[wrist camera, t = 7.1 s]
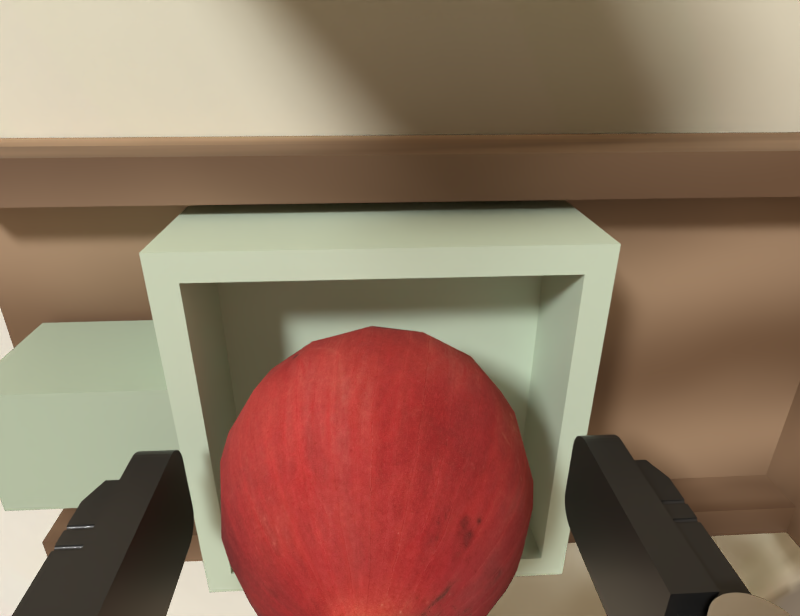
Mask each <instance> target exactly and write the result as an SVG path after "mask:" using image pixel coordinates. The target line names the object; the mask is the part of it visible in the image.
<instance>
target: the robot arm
mask: <svg viewBox="0 0 800 616" xmlns="http://www.w3.org/2000/svg"><path fill="white" fill-rule="evenodd" d="M565 511H566V517H567V521H568V524H569V527H570V530H571V532H572V534H573V537H574V539H575V541H576V544H577V546H578V548H579V551H580V553H581V555H582V558H583V560H584V562H585V565H586V567H587V570H588V572H589V574H590V577H591V579H592V581H593V584H594V586H595V588H596V591H597V593H598V595H599V598H600V600H601V602H602V605H603V607H604V609H605V612H606V614H607V616H791V615H790V614H789V613H788V612H786V611H785V610H783V609H782V608H780V607H779V606H777V605H775V604H774V603H772V602H770V601H767V600H765V599H763V598H760V597H757V596H755V595H752V594H751V593H750V592H749V591H748V589H747V588H746V586H745V585H744V584H743V582H742V581H741V579H740V578H739V576H738V575H737V574H736V572H735V571H734V569H733V568H732V566H731V565H730V564H729V562H728V561H727V559H726V558H725V556H724V555H723V554H722V552H721V551H720V549H719V548H718V546H717V545H716V544H715V542H714V541H713V539H712V538H711V537H710V535H709V534H708V532H707V531H706V529H705V528H704V527H703V525H702V524H701V522H698V521H697V517H696V515H695V514H694V512H693V511H692V509H691V508H690V507H689V505H688V504H685V502H684V498H683V497H682V495H681V494H680V492H679V491H678V490H677V488H676V487H675V485H674V484H673V482H672V481H671V480H670V478H669V477H668V476H666V475H665V474H664V473H662V472H661V471H660V470H659V469H657V468H656V467H655V466H653V465H652V464H651V463H650V462H648V461H647V460H634V459H633V457H632V456H631V454H630V453H629V451H628V450H627V448H626V447H625V445H624V443H623V442H622V440H621V439H620V438H619V437H618V436H617V435H614V434H612V435H585V436H577V437H576V438H575V440H574V443H573V449H572V455H571V461H570V467H569V473H568V478H567V484H566V490H565ZM193 527H194V511H193V505H192V500H191V496H190V491H189V486H188V481H187V476H186V471H185V467H184V462H183V457H182V455H181V453H180V451H179V450H159V451H138V452H136V453H135V454H134V455H133V456H132V458H131V460H130V462H129V463H128V465H127V467H126V469H125V471H124V472H123V474H122V476H121V478H120V480H105V481H104V482H103V483H102V484H101V485H100V486H98V487H97V488H96V489H95V490H94V491H93V492H92V493H90V494H89V495H88V496H87V497H86V498H85V499H84V500H82V501H81V503H80V504H79V506H78V508H77V509H76V511H75V513H74V514H73V516H72V518H71V519H70V521H69V523H68V524H67V529H66V530H64V531H63V532H62V534H61V536H60V537H59V539H58V541H57V542H56V544H55V548H54V551H51V552H50V554H49V555H48V557H47V559H46V560H45V562H44V564H43V565H42V567H41V569H40V570H39V572H38V574H37V575H36V577H35V579H34V580H33V582H32V583H31V585H30V587H29V588H28V590H27V592H26V593H25V595H24V597H23V598H22V600H21V602H20V603H19V605H18V606H17V608H16V610H15V611H14V613H13V615H12V616H166V614H167V611H168V608H169V605H170V603H171V600H172V597H173V594H174V591H175V588H176V585H177V582H178V579H179V576H180V573H181V570H182V567H183V564H184V561H185V558H186V555H187V553H188V550H189V547H190V543H191V540H192V535H193Z"/></svg>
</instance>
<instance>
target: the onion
mask: <svg viewBox="0 0 800 616" xmlns="http://www.w3.org/2000/svg"><path fill="white" fill-rule="evenodd" d="M220 485H221V539H222V542H223V545H224V548H225V551H226V554H227V557H228V560H229V563H230V565H231V567H232V569H233V571H234V573H235V575H236V577H237V579H238V581H239V583H240V585H241V587H242V589H243V590H244V592H245V594H246V596H247V598H248V600H249V602H250V604H251V606H252V607H253V609H254V610H255V612H256V613H257V615H258V616H486V615H487V614H488V613H489V612H490V610H491V609H492V608H493V606H494V605H495V604H496V603H497V601H498V600H499V599H500V597H501V596H502V595H503V594H504V592H505V591H506V589H507V588H508V586H509V584H510V582H511V581H512V579H513V577H514V575H515V574H516V572H517V569H518V566H519V562H520V559H521V556H522V553H523V549H524V545H525V540H526V536H527V532H528V527H529V523H530V518H531V514H532V509H533V478H532V474H531V471H530V467H529V463H528V459H527V456H526V452H525V448H524V445H523V441H522V437H521V434H520V430H519V426H518V423H517V419H516V415H515V412H514V410H513V409H512V407H511V406H510V404H509V403H508V401H507V400H506V398H505V397H504V395H503V394H502V392H501V391H500V390H499V388H498V387H497V386H496V385H495V384H494V383H493V381H492V380H491V379H490V378H489V377H488V376H487V374H486V373H485V372H484V371H483V370H482V369H481V367H480V366H479V365H478V364H477V363H476V362H475V360H474V359H473V358H472V357H471V356H470V355H468V354H466V353H464V352H462V351H460V350H458V349H456V348H454V347H452V346H450V345H448V344H446V343H444V342H442V341H440V340H438V339H436V338H434V337H432V336H430V335H428V334H426V333H424V332H418V331H411V330H402V329H394V328H386V327H378V326H369V327H365V328H362V329H358V330H354V331H351V332H347V333H343V334H340V335H336V336H332V337H328V338H324V339H320V340H316V341H312V342H311V343H309V344H308V345H306V346H305V347H303V348H302V349H300V350H299V351H297V352H296V353H294V354H293V355H291V356H290V357H288V358H287V359H285V360H284V361H282V362H281V363H279V364H278V365H276V366H275V367H273V368H272V369H271V370H270V371H269V372H268V373H267V375H266V376H265V377H264V378H263V379H262V381H261V382H260V383H259V384H258V385H257V387H256V388H255V389H254V390H253V392H252V394H251V395H250V397H249V399H248V400H247V402H246V404H245V405H244V407H243V409H242V411H241V412H240V414H239V416H238V417H237V419H236V421H235V422H234V424H233V426H232V427H231V429H230V431H229V432H228V436H227V439H226V443H225V446H224V450H223V453H222V457H221V460H220Z"/></svg>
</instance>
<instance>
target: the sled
mask: <svg viewBox="0 0 800 616" xmlns="http://www.w3.org/2000/svg"><path fill="white" fill-rule="evenodd" d="M620 246H621V244H620V243H619V242H618V241H616V240H615V239H614V238H613V237H611V236H610V235H609V234H607V233H606V232H605V231H604V230H602V229H601V228H600V227H599V226H597V225H596V224H595V223H594V222H592V221H591V220H590V219H588V218H587V217H586V216H585V215H583V214H582V213H581V212H580V211H578V210H577V209H576V208H574V207H573V206H572V205H571V204H569V203H568V202H567V201H566V200H548V201H478V202H407V203H337V204H266V205H196V206H188V207H187V208H186V209H185V210H184V211H183V212H181V213H180V214H179V215H178V216H177V217H176V218H175V219H174V220H173V221H172V222H171V223H170V224H169V225H168V226H167V227H166V228H165V229H164V230H163V231H162V232H161V233H159V234H158V235H157V236H156V237H155V238H154V239H153V240H152V241H151V242H150V243H149V244H148V245H147V246H146V247H145V248H144V249H143V250H142V251H141V252H140V253H139V255H140V260H141V265H142V270H143V275H144V279H145V284H146V289H147V294H148V299H149V303H150V308H151V313H152V318H153V320H138V321H99V322H59V323H42V324H41V325H40V326H39V327H37V328H36V329H35V330H34V331H33V332H32V333H31V334H30V335H28V336H27V337H26V338H25V339H24V340H23V341H22V342H20V343H19V344H18V345H17V346H16V347H15V348H14V349H13V350H11V351H10V352H9V353H8V354H7V355H6V356H5V357H4V358H2V359H1V360H0V500H1V502H2V505H3V507H4V510H5V511H17V510H40V509H63V508H78V506H79V504H80V503H81V501H82V500H84V499H85V498H86V497H87V496H88V495H89V494H90V493H92V492H93V491H94V490H95V489H96V488H97V487H98V486H100V485H101V484H102V483H103V482H104V481H105V480H120V478H121V476H122V474H123V472H124V471H125V469H126V467H127V465H128V463H129V462H130V460H131V458H132V456H133V455H134V454H135V453H136V452H138V451H159V450H179V451H180V453H181V455H182V457H183V462H184V467H185V471H186V476H187V481H188V486H189V491H190V496H191V500H192V505H193V511H194V520H195V525H196V530H197V534H198V539H199V544H200V549H201V554H202V558H203V563H204V568H205V573H206V578H207V582H208V587H209V592H226V591H244V590H243V589H242V587H241V585H240V583H239V581H238V579H237V577H236V575H235V573H234V571H233V569H232V567H231V565H230V563H229V560H228V557H227V554H226V551H225V548H224V545H223V542H222V539H221V485H220V460H221V457H222V453H223V450H224V446H225V443H226V439H227V436H228V432H229V431H230V429H231V427H232V426H233V424H234V422H235V421H236V419H237V417H238V416H239V414H240V412H241V411H242V409H243V407H244V405H245V404H246V402H247V400H248V399H249V397H250V395H251V394H252V392H253V390H254V389H255V388H256V387H257V385H258V384H259V383H260V382H261V381H262V379H263V378H264V377H265V376H266V375H267V373H268V372H269V371H270V370H271V369H272V368H273V367H275V366H276V365H278V364H279V363H281V362H282V361H284V360H285V359H287V358H288V357H290V356H291V355H293V354H294V353H296V352H297V351H299V350H300V349H302V348H303V347H305V346H306V345H308V344H309V343H311V342H312V341H316V340H320V339H324V338H328V337H332V336H336V335H340V334H343V333H347V332H351V331H354V330H358V329H362V328H365V327H369V326H378V327H386V328H394V329H402V330H411V331H418V332H424V333H426V334H428V335H430V336H432V337H434V338H436V339H438V340H440V341H442V342H444V343H446V344H448V345H450V346H452V347H454V348H456V349H458V350H460V351H462V352H464V353H466V354H468V355H470V356H471V357H472V358H473V359H474V360H475V362H476V363H477V364H478V365H479V366H480V367H481V369H482V370H483V371H484V372H485V373H486V374H487V376H488V377H489V378H490V379H491V380H492V381H493V383H494V384H495V385H496V386H497V387H498V388H499V390H500V391H501V392H502V394H503V395H504V397H505V398H506V400H507V401H508V403H509V404H510V406H511V407H512V409H513V410H514V412H515V415H516V419H517V423H518V426H519V430H520V434H521V437H522V441H523V445H524V448H525V452H526V456H527V459H528V463H529V467H530V471H531V474H532V478H533V509H532V514H531V518H530V523H529V527H528V532H527V536H526V540H525V545H524V549H523V553H522V556H521V559H520V562H519V566H518V569H517V572H516V574H515V575H514V577H515V576H535V575H554V574H562V572H563V566H564V561H565V555H566V549H567V544H568V538H569V533H570V527H569V524H568V521H567V517H566V511H565V490H566V484H567V478H568V473H569V467H570V461H571V455H572V449H573V443H574V440H575V438H576V437H577V436H585V435H587V431H588V426H589V420H590V415H591V409H592V403H593V398H594V392H595V386H596V381H597V375H598V370H599V364H600V358H601V353H602V347H603V342H604V336H605V330H606V325H607V319H608V313H609V308H610V302H611V297H612V291H613V285H614V280H615V274H616V268H617V263H618V257H619V252H620Z"/></svg>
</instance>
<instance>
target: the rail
mask: <svg viewBox="0 0 800 616" xmlns="http://www.w3.org/2000/svg"><path fill="white" fill-rule="evenodd" d="M548 200H566V201H567V202H568V203H569V204H571V205H572V206H573V207H574V208H576V209H577V210H578V211H580V212H581V213H582V214H583V215H585V216H586V217H587V218H588V219H590V220H591V221H592V222H594V223H595V224H596V225H597V226H599V227H600V228H601V229H602V230H604V231H605V232H606V233H607V234H609V235H610V236H611V237H613V238H614V239H615V240H616V241H618V242H619V243H620V244H621V246H620V252H619V257H618V263H617V268H616V274H615V280H614V285H613V291H612V297H611V302H610V308H609V313H608V319H607V325H606V330H605V336H604V342H603V347H602V353H601V358H600V364H599V370H598V375H597V381H596V386H595V392H594V398H593V403H592V409H591V415H590V420H589V426H588V431H587V435H612V434H614V435H617V436H618V437H619V438H620V439H621V440H622V442H623V443H624V445H625V447H626V448H627V450H628V451H629V453H630V454H631V456H632V457H633V459H634V460H647V461H648V462H650V463H651V464H652V465H653V466H655V467H656V468H657V469H659V470H660V471H661V472H662V473H664V474H665V475H666V476H668V477H669V478H670V480H671V481H672V482H673V484H674V485H675V487H676V488H677V490H678V491H679V492H680V494H681V495H682V497H683V498H684V502H685V504H688V505H689V507H690V508H691V509H692V511H693V512H694V514H695V515H696V517H697V521H698V522H701V524H702V525H703V527H704V528H705V529H706V531H707V532H708V534H709V535H710V536H718V535H739V534H759V533H780V532H787V533H788V534H789V536H790V537H791V538H792V539H793V540H794V541H795V543H796V544H797V545H798V546H799V547H800V132H787V133H655V134H522V135H389V136H257V137H124V138H0V308H1V311H2V314H3V317H4V320H5V323H6V326H7V329H8V332H9V335H10V338H11V340H12V343H13V346H14V348H15V347H16V346H17V345H18V344H19V343H20V342H22V341H23V340H24V339H25V338H26V337H27V336H28V335H30V334H31V333H32V332H33V331H34V330H35V329H36V328H37V327H39V326H40V325H41V324H42V323H59V322H99V321H138V320H153V318H152V313H151V308H150V303H149V299H148V294H147V289H146V284H145V279H144V275H143V270H142V265H141V260H140V255H139V253H140V252H141V251H142V250H143V249H144V248H145V247H146V246H147V245H148V244H149V243H150V242H151V241H152V240H153V239H154V238H155V237H156V236H157V235H158V234H159V233H161V232H162V231H163V230H164V229H165V228H166V227H167V226H168V225H169V224H170V223H171V222H172V221H173V220H174V219H175V218H176V217H177V216H178V215H179V214H180V213H181V212H183V211H184V210H185V209H186V208H187V207H188V206H196V205H266V204H337V203H407V202H478V201H548ZM76 509H77V508H64V509H63V511H62V512H61V514H60V515H59V517H58V519H57V520H56V522H55V523H54V525H53V526H52V528H51V530H50V531H49V533H48V534H47V536H46V537H45V539H44V541H43V542H42V543H43V545H44V548H45V551H46V554H47V556H48V555H49V554H50V552H51V551H54V548H55V544H56V542H57V541H58V539H59V537H60V536H61V534H62V532H63V531H64V530H66V529H67V524H68V523H69V521H70V519H71V518H72V516H73V514H74V513H75V511H76ZM575 542H576V541H575V539H574V537H573V534H572V532H571V530H570V533H569V538H568V543H575ZM185 561H203V558H202V554H201V549H200V544H199V539H198V534H197V530H196V525H195V520H194V527H193V535H192V540H191V543H190V547H189V550H188V553H187V555H186V558H185ZM185 561H184V562H185Z"/></svg>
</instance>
